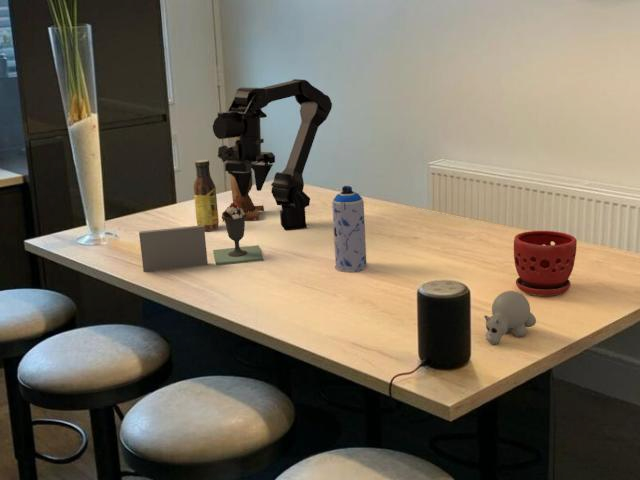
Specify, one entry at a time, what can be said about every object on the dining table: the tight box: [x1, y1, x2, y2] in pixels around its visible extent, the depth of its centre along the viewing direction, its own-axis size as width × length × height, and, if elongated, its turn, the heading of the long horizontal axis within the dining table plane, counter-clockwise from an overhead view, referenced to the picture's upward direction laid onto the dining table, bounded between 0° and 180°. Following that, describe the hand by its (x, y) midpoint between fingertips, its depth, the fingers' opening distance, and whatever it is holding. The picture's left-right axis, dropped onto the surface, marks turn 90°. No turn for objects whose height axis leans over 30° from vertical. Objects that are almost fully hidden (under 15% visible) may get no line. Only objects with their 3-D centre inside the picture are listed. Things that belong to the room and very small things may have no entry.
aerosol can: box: [331, 185, 368, 273], centre depth 227 cm, size 8×8×20 cm
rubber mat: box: [212, 244, 264, 266], centre depth 244 cm, size 12×12×1 cm
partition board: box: [138, 225, 209, 272], centre depth 237 cm, size 16×2×10 cm, turn 99°
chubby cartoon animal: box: [483, 290, 537, 345], centre depth 181 cm, size 7×12×8 cm, turn 130°
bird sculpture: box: [221, 137, 265, 222], centre depth 278 cm, size 11×12×32 cm
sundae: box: [221, 196, 247, 257], centre depth 242 cm, size 7×7×15 cm
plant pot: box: [513, 230, 578, 297], centre depth 205 cm, size 13×13×12 cm
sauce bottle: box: [193, 159, 220, 232], centre depth 269 cm, size 7×6×20 cm
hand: (251, 193), depth 255 cm, fingers open, 9 cm apart
